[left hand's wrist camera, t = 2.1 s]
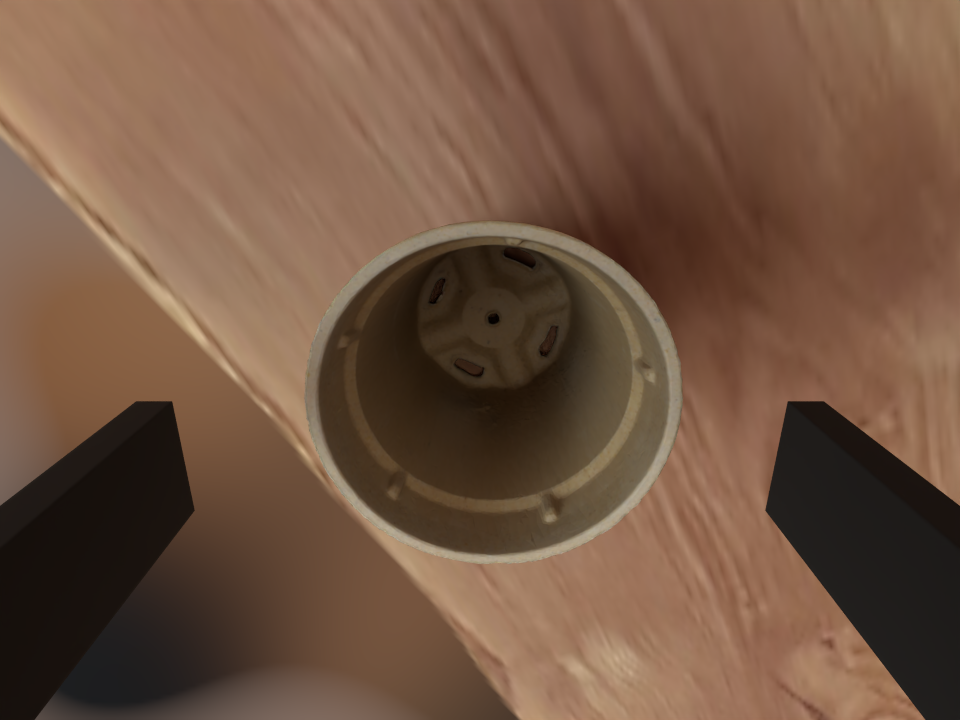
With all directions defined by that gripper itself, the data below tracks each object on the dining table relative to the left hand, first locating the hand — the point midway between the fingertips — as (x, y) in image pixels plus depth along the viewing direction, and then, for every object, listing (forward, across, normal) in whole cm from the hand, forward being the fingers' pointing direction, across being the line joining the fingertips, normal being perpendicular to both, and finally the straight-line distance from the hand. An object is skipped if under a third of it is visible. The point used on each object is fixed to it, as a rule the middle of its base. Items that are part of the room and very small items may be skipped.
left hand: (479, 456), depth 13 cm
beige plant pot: (+11, 0, 0) cm, 11 cm away
